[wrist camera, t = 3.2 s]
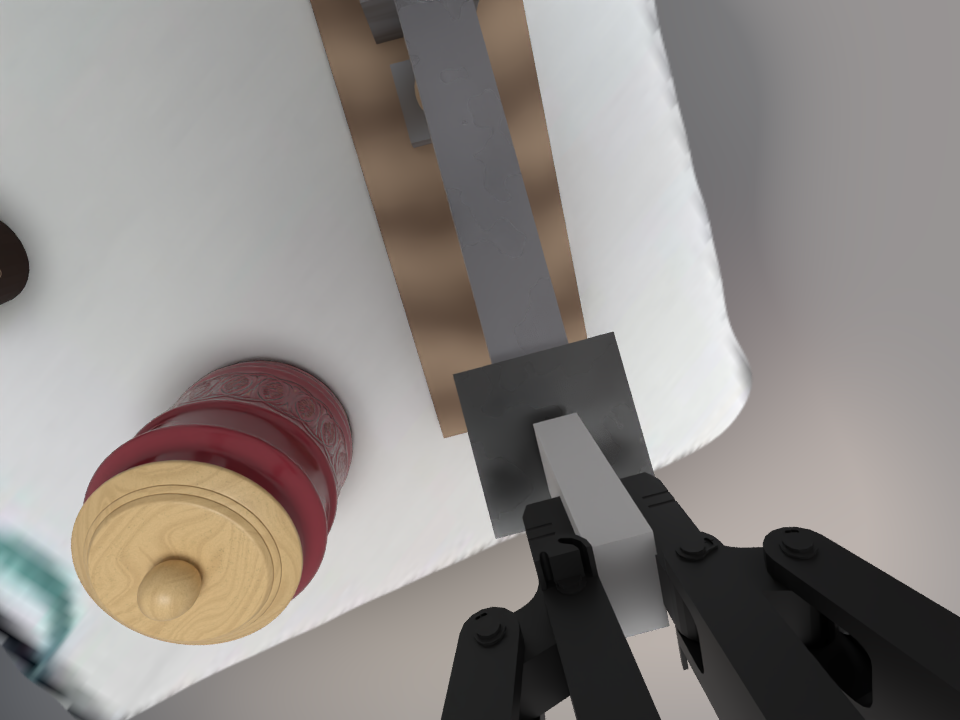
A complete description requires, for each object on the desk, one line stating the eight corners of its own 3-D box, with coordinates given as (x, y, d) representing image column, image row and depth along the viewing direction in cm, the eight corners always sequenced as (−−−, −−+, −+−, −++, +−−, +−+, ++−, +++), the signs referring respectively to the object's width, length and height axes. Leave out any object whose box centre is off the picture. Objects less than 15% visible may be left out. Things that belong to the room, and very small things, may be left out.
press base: (299, -47, 31) (207, -207, 18) (496, -99, 31) (540, -295, 18) (443, 426, 42) (448, 533, 29) (590, 387, 42) (661, 477, 29)
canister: (289, 323, 38) (177, 431, 21) (387, 459, 42) (358, 639, 25) (142, 410, 39) (-73, 578, 22) (252, 535, 43) (138, 755, 27)
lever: (341, -64, 23) (321, -127, 20) (473, -99, 23) (471, -167, 20) (494, 519, 21) (495, 538, 19) (637, 482, 21) (660, 494, 19)
